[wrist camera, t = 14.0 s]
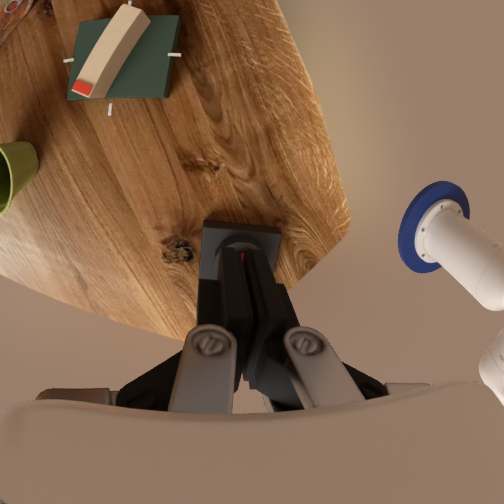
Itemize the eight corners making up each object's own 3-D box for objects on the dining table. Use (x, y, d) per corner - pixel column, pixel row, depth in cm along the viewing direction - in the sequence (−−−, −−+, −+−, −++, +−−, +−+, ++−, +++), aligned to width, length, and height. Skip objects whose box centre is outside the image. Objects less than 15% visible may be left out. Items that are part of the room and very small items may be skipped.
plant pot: (36, 205, 31) (4, 231, 24) (-4, 176, 28) (-39, 197, 20) (57, 147, 28) (21, 162, 21) (14, 119, 25) (-25, 129, 17)
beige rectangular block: (134, 15, 20) (122, 2, 16) (151, 21, 21) (141, 8, 17) (88, 91, 23) (69, 90, 19) (104, 98, 24) (87, 98, 20)
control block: (278, 227, 38) (285, 240, 35) (267, 276, 42) (272, 293, 39) (203, 220, 36) (203, 233, 33) (198, 272, 40) (198, 289, 37)
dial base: (194, 8, 23) (193, -1, 20) (175, 116, 29) (171, 116, 27) (85, 14, 20) (75, 8, 17) (68, 116, 27) (57, 118, 24)
